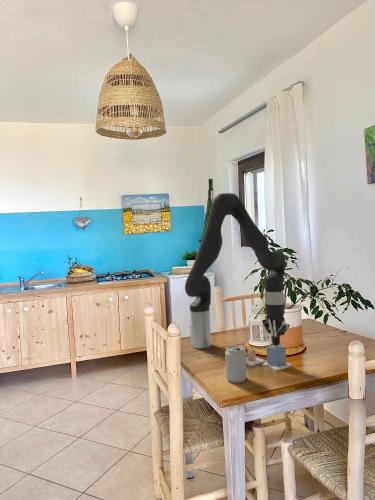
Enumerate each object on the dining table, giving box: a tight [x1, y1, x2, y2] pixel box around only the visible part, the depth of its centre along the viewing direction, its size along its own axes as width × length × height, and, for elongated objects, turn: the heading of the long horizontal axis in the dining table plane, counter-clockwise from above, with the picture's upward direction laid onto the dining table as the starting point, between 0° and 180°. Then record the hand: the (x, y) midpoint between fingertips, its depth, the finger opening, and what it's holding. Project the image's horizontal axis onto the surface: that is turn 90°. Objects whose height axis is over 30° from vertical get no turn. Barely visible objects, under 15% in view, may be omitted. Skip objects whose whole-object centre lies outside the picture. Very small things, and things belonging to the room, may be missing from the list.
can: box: [224, 345, 248, 384], centre depth 144 cm, size 8×8×12 cm
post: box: [261, 361, 293, 372], centre depth 156 cm, size 8×8×7 cm
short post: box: [246, 348, 265, 367], centre depth 162 cm, size 7×7×5 cm
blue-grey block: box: [266, 344, 287, 367], centre depth 156 cm, size 5×5×7 cm
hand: (276, 345), depth 155 cm, fingers closed
